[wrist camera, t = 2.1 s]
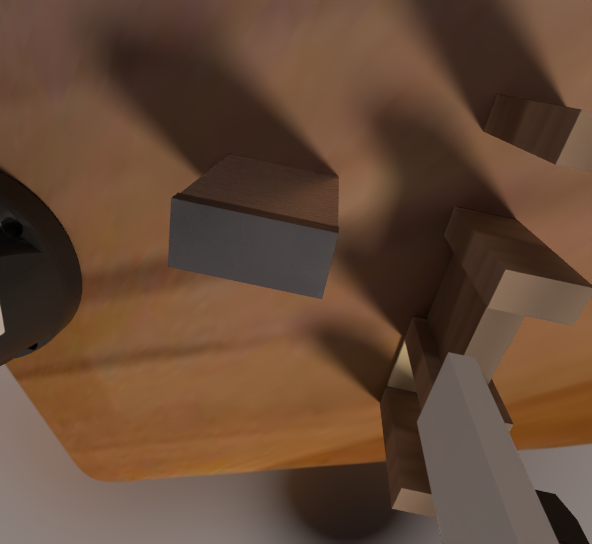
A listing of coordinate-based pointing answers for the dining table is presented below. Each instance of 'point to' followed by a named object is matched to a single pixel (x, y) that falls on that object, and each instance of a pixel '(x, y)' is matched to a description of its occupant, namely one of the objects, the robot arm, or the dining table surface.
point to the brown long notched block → (484, 293)
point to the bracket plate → (257, 225)
